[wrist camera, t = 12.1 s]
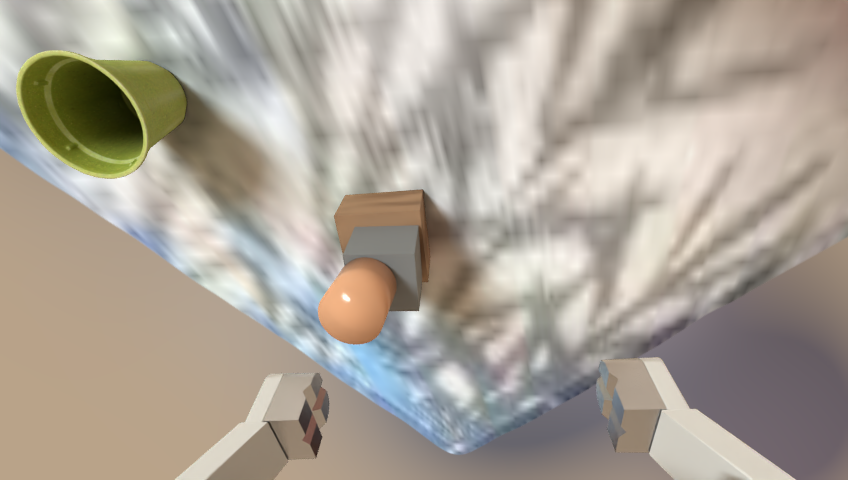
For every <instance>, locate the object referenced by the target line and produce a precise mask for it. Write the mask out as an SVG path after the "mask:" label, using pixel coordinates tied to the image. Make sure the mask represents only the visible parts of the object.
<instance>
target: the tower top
mask: <svg viewBox="0 0 848 480" xmlns="http://www.w3.org/2000/svg"><path fill="white" fill-rule="evenodd" d="M361 257H367V258H373V259H376V260H378V261H380V262H382V263H384V264H385V265H386V266H387V267H388V268H389V269H390V270H391V271H392V273H393V274H394V276H395V279H396V283H397V289H396V294H395V296H394V299H393V301H392V304H391V307H390V309H389V311H419V306H420V296H421V287H422V266H421V253H420V239H419V225H410V226H369V227H355V228H354V230H353V232H352V235H351V237H350V239H349V242H348V244H347V246H346V248H345V251H344V253H343V260H344V265H346V264H347V263H348V262H350V261H351V260H353V259H356V258H361Z"/></svg>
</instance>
